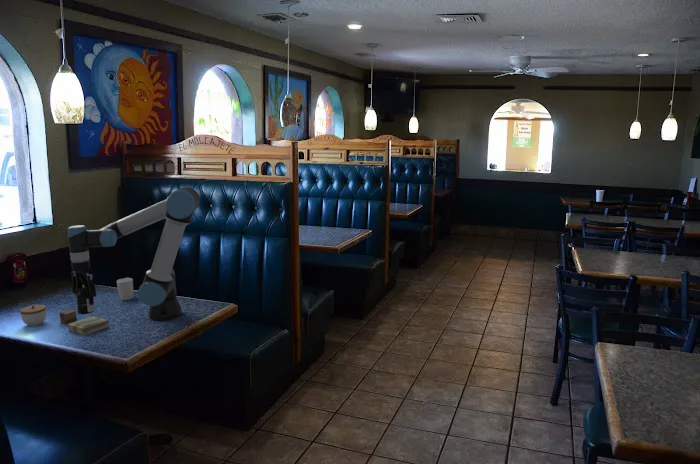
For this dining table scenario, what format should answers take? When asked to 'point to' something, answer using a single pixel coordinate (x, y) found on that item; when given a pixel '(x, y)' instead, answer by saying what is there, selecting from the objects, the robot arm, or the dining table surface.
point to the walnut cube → (68, 316)
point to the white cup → (125, 288)
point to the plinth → (88, 325)
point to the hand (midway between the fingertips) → (86, 309)
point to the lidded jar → (34, 315)
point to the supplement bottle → (82, 301)
